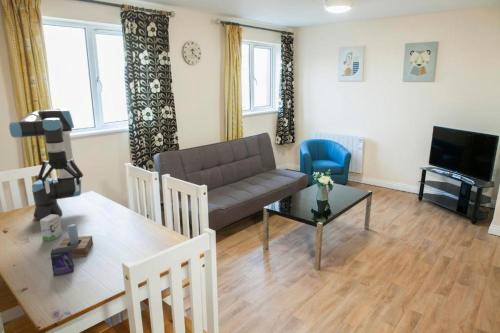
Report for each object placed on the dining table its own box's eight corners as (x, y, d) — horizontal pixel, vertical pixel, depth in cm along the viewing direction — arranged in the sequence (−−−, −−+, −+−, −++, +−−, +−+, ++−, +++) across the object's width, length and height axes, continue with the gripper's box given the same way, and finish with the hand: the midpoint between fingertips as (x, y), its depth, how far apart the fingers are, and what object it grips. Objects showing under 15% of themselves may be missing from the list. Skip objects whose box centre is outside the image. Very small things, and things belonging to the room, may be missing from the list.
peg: (72, 250, 171) (68, 224, 167) (81, 249, 172) (77, 223, 168) (70, 254, 167) (65, 228, 164) (78, 253, 168) (74, 227, 164)
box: (53, 276, 149) (49, 254, 146) (54, 270, 154) (51, 248, 151) (74, 272, 152) (70, 250, 149) (74, 266, 157) (71, 244, 154)
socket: (66, 246, 175) (64, 237, 173) (93, 244, 177) (91, 235, 175) (56, 260, 162) (55, 250, 161) (86, 257, 164) (84, 247, 163)
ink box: (54, 233, 189) (51, 213, 186) (62, 234, 188) (59, 214, 185) (42, 240, 181) (38, 220, 178) (51, 241, 180) (47, 220, 177)
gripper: (24, 153, 160) (32, 196, 166) (81, 151, 164) (87, 192, 171) (31, 149, 167) (38, 190, 173) (86, 147, 171) (91, 187, 178)
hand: (63, 191), depth 172 cm, fingers open, 13 cm apart
